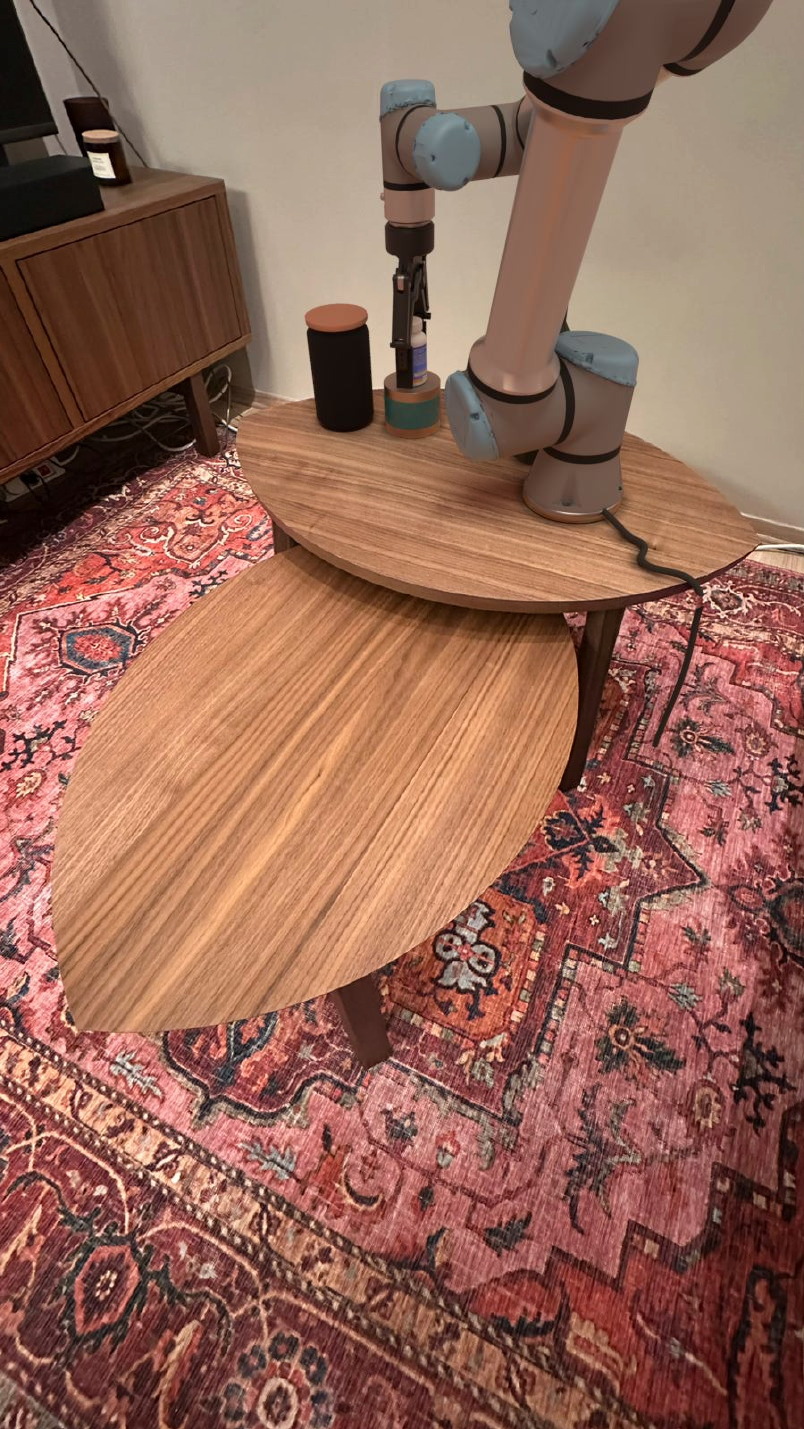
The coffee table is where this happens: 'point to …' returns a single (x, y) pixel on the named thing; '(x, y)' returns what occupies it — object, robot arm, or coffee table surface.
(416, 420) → the tin
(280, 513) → the coffee table surface
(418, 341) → the pill bottle
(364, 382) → the coffee jar
